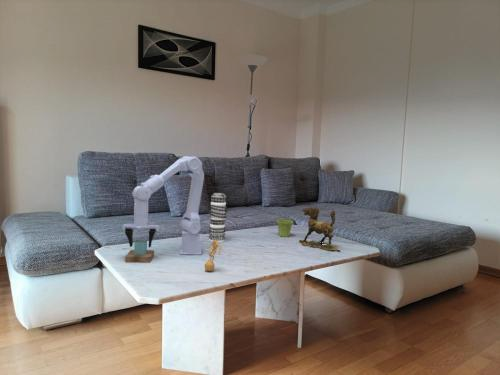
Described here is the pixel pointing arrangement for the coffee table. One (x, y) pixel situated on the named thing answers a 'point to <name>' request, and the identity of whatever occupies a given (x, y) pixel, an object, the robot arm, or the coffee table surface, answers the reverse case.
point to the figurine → (319, 230)
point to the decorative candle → (217, 217)
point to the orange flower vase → (209, 264)
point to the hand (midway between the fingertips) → (140, 246)
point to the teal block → (140, 247)
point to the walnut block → (139, 257)
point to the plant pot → (284, 227)
